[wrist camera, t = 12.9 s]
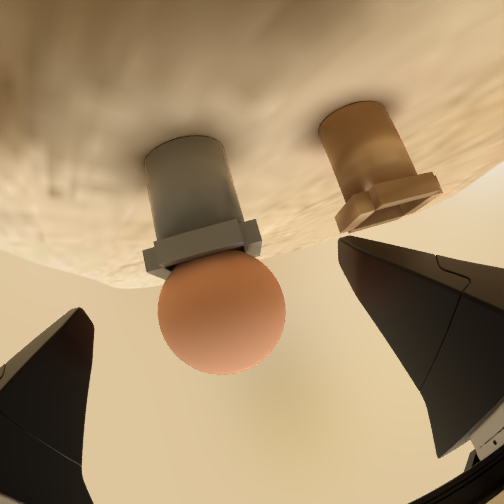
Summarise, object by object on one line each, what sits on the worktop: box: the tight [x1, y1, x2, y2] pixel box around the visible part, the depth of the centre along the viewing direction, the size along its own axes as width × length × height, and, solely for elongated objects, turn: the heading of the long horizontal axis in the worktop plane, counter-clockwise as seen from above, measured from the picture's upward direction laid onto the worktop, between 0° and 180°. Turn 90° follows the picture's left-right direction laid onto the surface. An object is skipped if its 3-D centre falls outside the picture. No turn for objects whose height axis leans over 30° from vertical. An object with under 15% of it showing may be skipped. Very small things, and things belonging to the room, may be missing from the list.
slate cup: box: [143, 136, 262, 280], centre depth 16 cm, size 5×5×6 cm
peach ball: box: [158, 249, 285, 375], centre depth 15 cm, size 6×6×6 cm
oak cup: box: [318, 101, 443, 233], centre depth 16 cm, size 5×5×6 cm
